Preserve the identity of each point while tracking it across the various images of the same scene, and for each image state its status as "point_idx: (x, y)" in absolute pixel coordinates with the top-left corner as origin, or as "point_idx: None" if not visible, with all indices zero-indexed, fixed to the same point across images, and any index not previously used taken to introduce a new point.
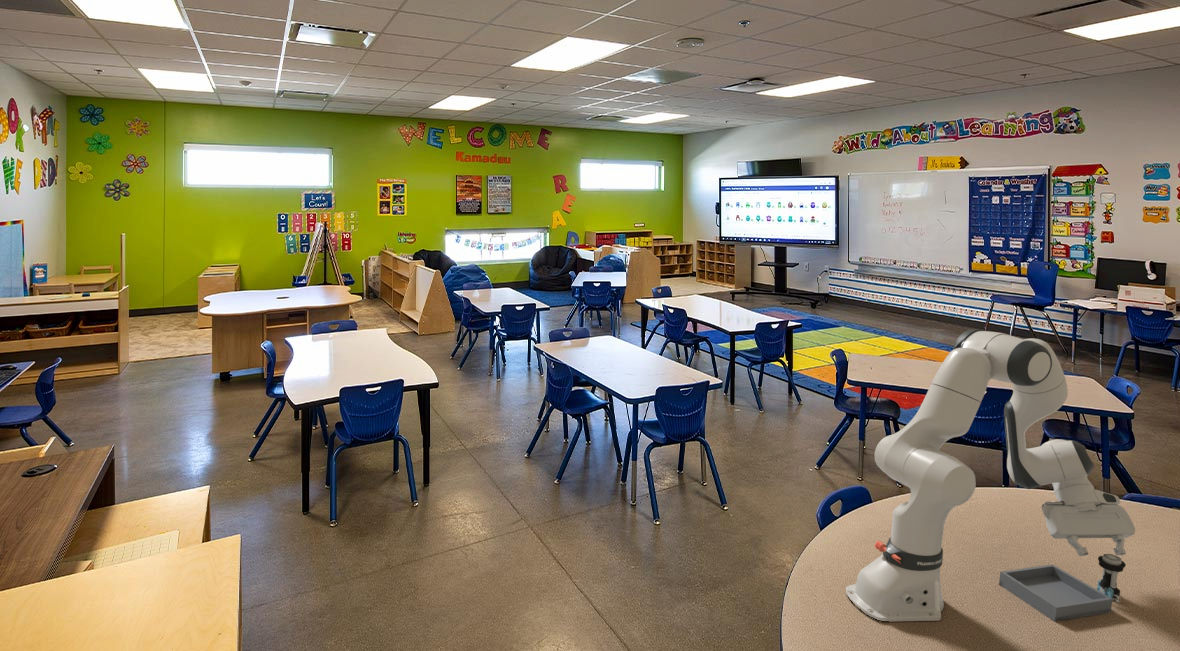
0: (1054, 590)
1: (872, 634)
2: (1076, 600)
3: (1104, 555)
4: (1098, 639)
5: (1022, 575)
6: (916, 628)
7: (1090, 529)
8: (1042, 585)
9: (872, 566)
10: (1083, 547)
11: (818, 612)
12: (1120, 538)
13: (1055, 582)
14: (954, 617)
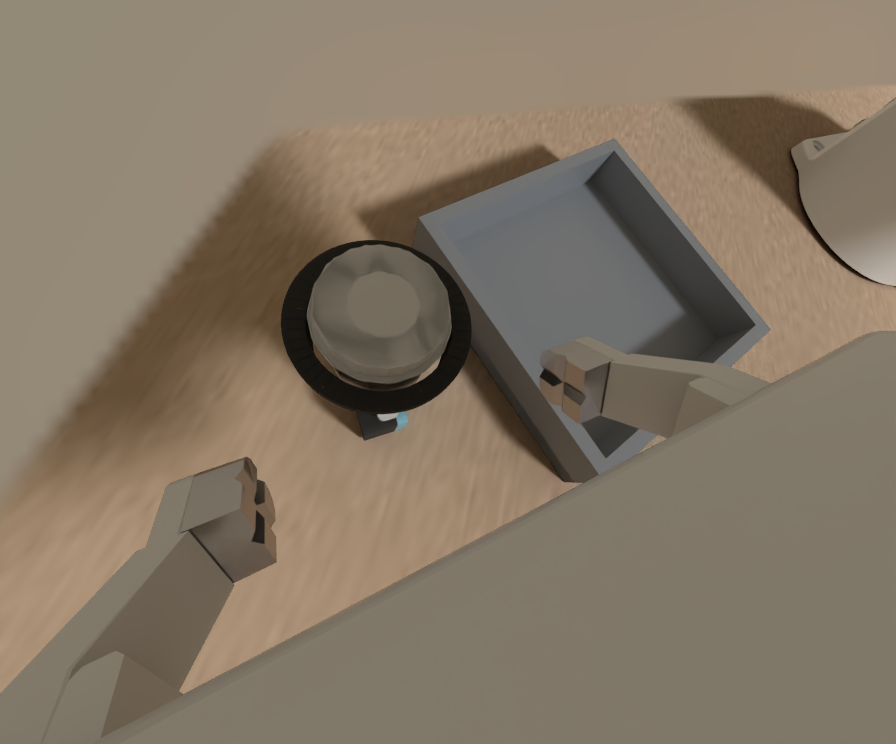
0: (578, 327)
1: (854, 104)
2: (518, 274)
3: (440, 321)
4: (492, 120)
5: None
6: (811, 124)
7: (690, 510)
8: None
9: None
10: (600, 363)
11: None
12: (76, 690)
13: None
14: (771, 166)
